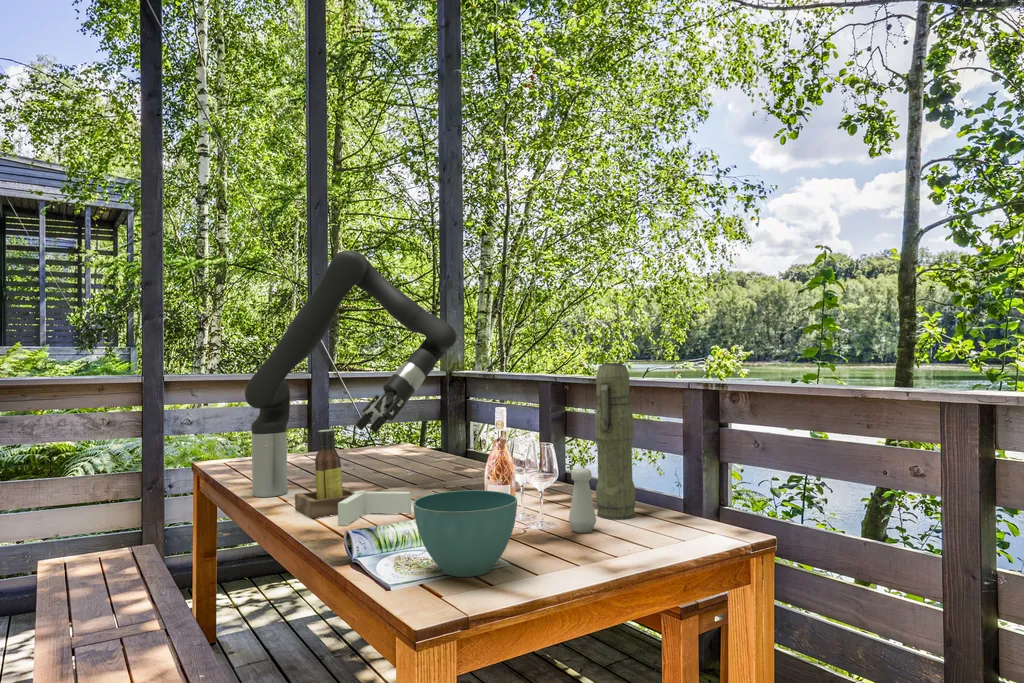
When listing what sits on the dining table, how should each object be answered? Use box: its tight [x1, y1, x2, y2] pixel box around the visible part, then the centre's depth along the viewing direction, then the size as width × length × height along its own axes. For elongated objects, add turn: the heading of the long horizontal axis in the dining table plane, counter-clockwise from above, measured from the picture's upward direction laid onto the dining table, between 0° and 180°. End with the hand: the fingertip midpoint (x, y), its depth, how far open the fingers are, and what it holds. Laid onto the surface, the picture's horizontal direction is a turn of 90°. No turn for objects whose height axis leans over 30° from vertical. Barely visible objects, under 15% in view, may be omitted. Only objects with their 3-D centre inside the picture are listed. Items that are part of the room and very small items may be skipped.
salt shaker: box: [568, 467, 597, 534], centre depth 144 cm, size 6×6×13 cm
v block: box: [337, 489, 412, 526], centre depth 161 cm, size 11×18×5 cm, turn 127°
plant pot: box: [412, 489, 518, 578], centre depth 119 cm, size 18×18×12 cm
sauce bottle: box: [314, 429, 343, 500], centre depth 168 cm, size 6×6×20 cm
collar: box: [294, 486, 356, 519], centre depth 168 cm, size 12×13×4 cm
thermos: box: [594, 362, 636, 520], centre depth 157 cm, size 9×12×35 cm
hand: (365, 429), depth 174 cm, fingers open, 8 cm apart
